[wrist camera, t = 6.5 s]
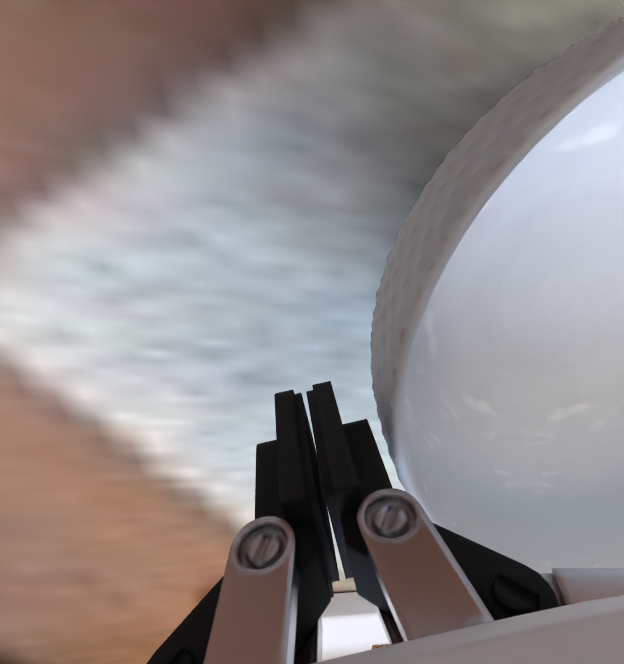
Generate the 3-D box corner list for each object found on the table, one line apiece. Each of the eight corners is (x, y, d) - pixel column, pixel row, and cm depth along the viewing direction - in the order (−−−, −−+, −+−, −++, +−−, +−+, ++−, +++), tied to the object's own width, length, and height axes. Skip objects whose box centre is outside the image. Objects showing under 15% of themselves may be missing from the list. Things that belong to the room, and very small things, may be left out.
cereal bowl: (315, 442, 19) (343, 602, 12) (380, -20, 12) (522, -195, 5) (642, 445, 21) (804, 580, 15) (861, 64, 14) (1345, 13, 8)
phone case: (455, 583, 25) (197, 601, 23) (465, 607, 24) (193, 628, 22) (432, 652, 28) (204, 674, 26) (440, 676, 27) (201, 700, 25)
